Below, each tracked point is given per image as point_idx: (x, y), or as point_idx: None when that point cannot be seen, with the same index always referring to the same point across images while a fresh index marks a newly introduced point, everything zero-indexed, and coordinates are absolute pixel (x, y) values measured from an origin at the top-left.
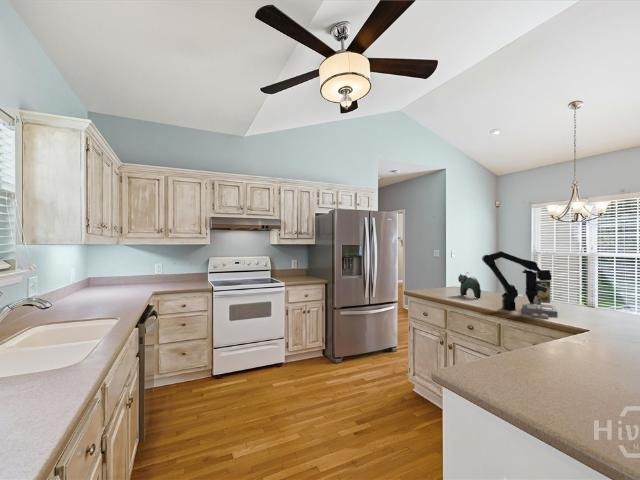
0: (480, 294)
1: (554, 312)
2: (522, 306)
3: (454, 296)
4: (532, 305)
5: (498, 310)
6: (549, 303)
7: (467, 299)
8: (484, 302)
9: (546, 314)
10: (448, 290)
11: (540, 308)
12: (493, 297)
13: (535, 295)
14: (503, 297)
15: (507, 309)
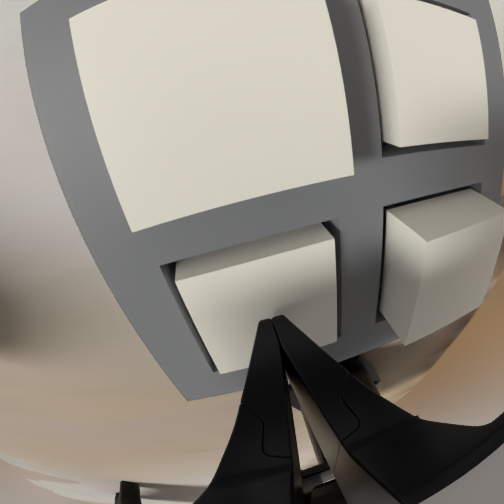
0: (122, 498)
1: (480, 12)
2: (395, 338)
3: (172, 500)
4: (497, 253)
5: (405, 379)
6: (93, 32)
7: (191, 490)
8: (200, 471)
9: None
10: (94, 501)
11: (439, 153)
12: (40, 457)
13: (465, 433)
14: (322, 482)
15: (376, 373)
